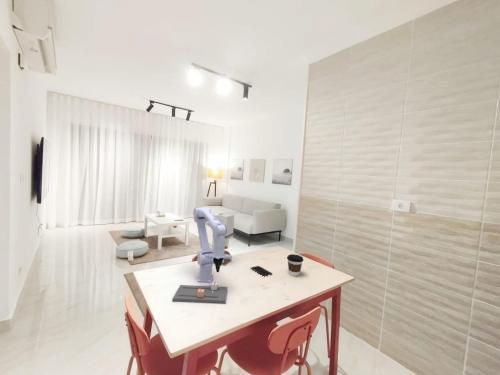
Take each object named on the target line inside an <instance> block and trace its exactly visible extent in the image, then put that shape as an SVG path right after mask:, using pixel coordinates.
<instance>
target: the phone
mask: <svg viewBox="0 0 500 375" xmlns="http://www.w3.org/2000/svg"><path fill="white" fill-rule="evenodd" d="M251 269H252V270H251ZM250 270H251V271H253V272H254V271H255V272H254V273H256V272H257V273H256V274H258V275H259V274H260V276H261V275H262V276H261V277H263V276H264V277H263V278H266V277H265V276H267V277H269V276H268V275H270V276H273V272H271V271H269V270H267V269H265V268H264V267H262V266H259V265H256V266H251V267H250Z"/></svg>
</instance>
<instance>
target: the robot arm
mask: <svg viewBox="0 0 500 375" xmlns="http://www.w3.org/2000/svg"><path fill="white" fill-rule="evenodd" d="M192 214H193V215H192V216H193V220H194V223H196V226H197V233H198V238H199V245H200V250H199V251H198V252H197V253H196V254H197V255H196V256H197V260H196V261H197V265H199V277H198V279H197V282H201V283H211V282H213V277H214V274H213V265H214V267H215V270H216V273H220V268H221V266H222V265H221V264H222V262H223V259H232V260H233V254H228V253H225V250H224V242H225V235H226V234H227V227H226V225H223V224H221V223H220V222H219V221H218V219H217V218H214V215H213V214H212V209H211V208H210V207H209V206H207V207H205V206H204V207H194V208H193V213H192ZM206 222H207V223H208V226H209V227H210V229H211V230H212V239H213V238H214V250H213V249H212V247H210V244H209V238H208V232H207V228H206V227H207V226H206ZM218 259H219V260H218ZM213 263H214V264H213Z"/></svg>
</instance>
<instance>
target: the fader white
mask: <svg viewBox="0 0 500 375" xmlns="http://www.w3.org/2000/svg"><path fill="white" fill-rule="evenodd" d="M211 282H212V283H211V284H210V286H211V290H217V287H219V286H218V285H219V283H218V282H217V281H211Z"/></svg>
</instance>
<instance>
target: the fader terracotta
mask: <svg viewBox="0 0 500 375" xmlns="http://www.w3.org/2000/svg"><path fill="white" fill-rule="evenodd" d="M197 297H201V298H203V297H204V289H198V292H197Z"/></svg>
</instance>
